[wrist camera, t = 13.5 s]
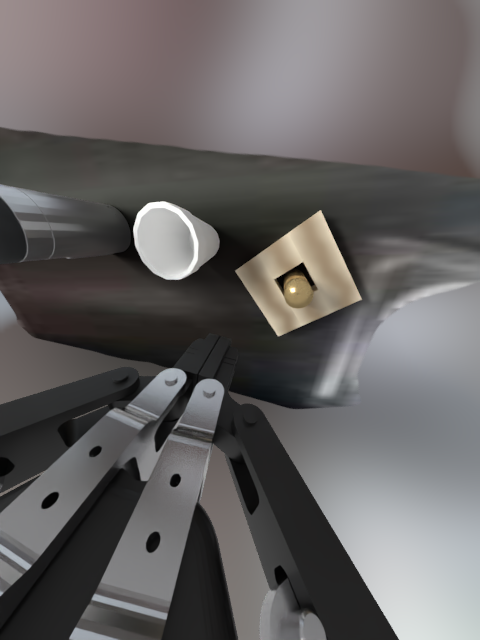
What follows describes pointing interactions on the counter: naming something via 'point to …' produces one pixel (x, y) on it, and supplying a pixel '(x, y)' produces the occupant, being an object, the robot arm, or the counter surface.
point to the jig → (322, 265)
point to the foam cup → (173, 240)
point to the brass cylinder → (297, 289)
